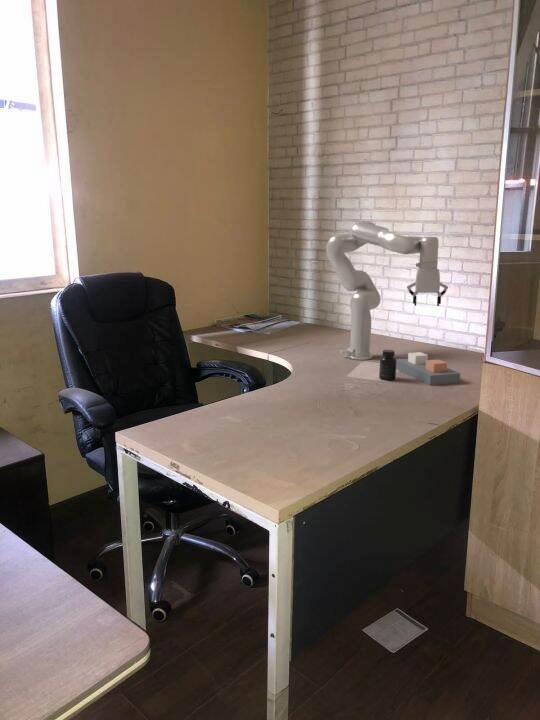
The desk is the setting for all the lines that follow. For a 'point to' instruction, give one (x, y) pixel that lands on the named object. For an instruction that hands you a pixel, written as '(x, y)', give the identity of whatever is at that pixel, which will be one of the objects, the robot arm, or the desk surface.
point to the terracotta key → (436, 366)
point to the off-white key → (417, 358)
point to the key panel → (427, 373)
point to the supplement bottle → (388, 366)
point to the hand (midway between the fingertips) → (426, 305)
